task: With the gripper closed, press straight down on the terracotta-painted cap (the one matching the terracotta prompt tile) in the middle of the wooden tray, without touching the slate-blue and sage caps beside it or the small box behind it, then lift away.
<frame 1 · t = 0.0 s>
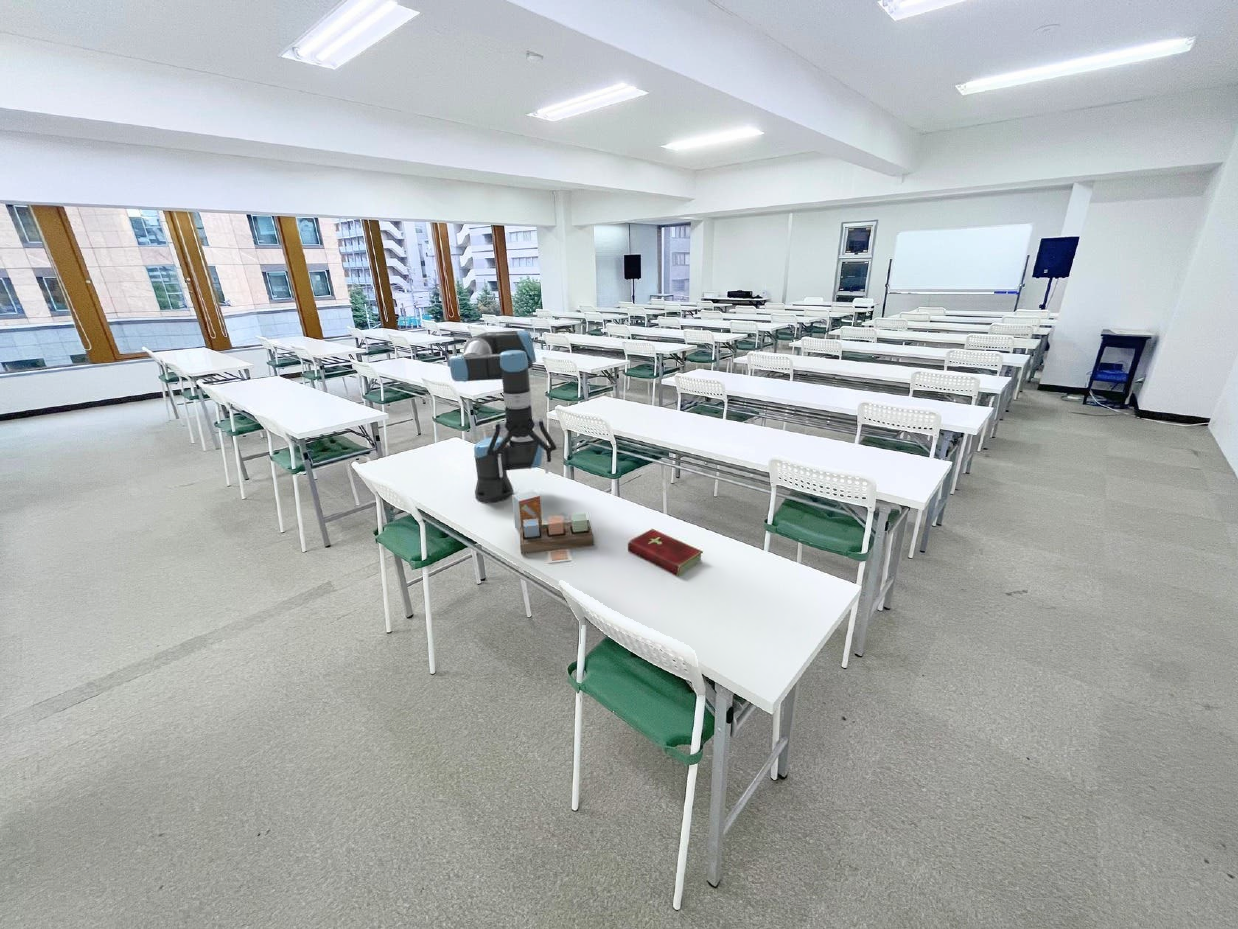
hand: (524, 473, 150), 28 cm above the table, fingers open, 13 cm apart
wooden tray: (556, 540, 168), on the table
small box: (528, 528, 177), on the table
cap slate: (531, 528, 165), point 6 cm above the table, slide at 0.0 cm
hardcover book: (664, 557, 159), on the table
prompt tile: (559, 556, 159), on the table
cap terracotta: (555, 526, 166), point 6 cm above the table, slide at 0.0 cm
cap sage: (579, 523, 167), point 6 cm above the table, slide at 0.0 cm
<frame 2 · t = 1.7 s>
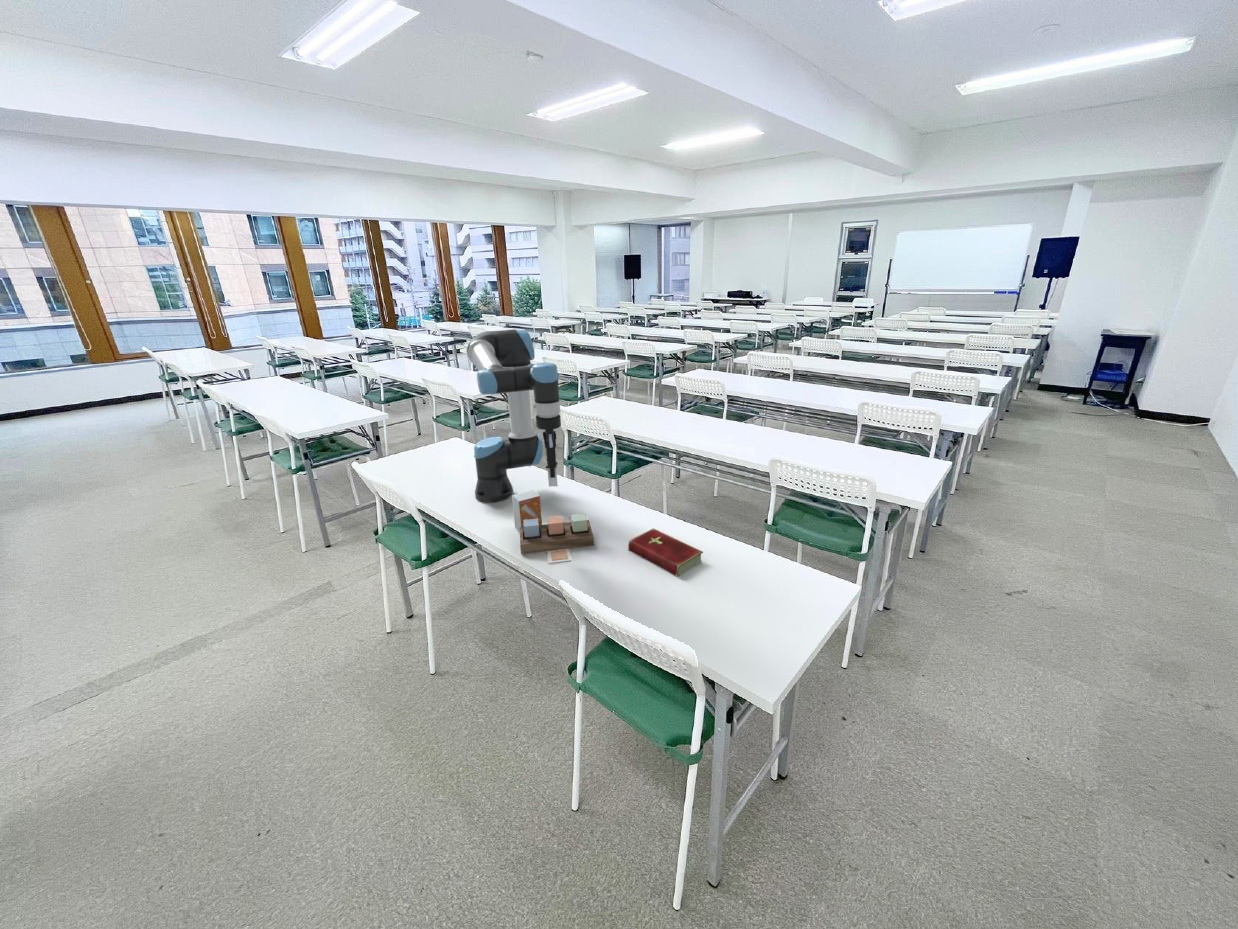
hand: (553, 485, 160), 21 cm above the table, fingers closed
nothing on the table moved.
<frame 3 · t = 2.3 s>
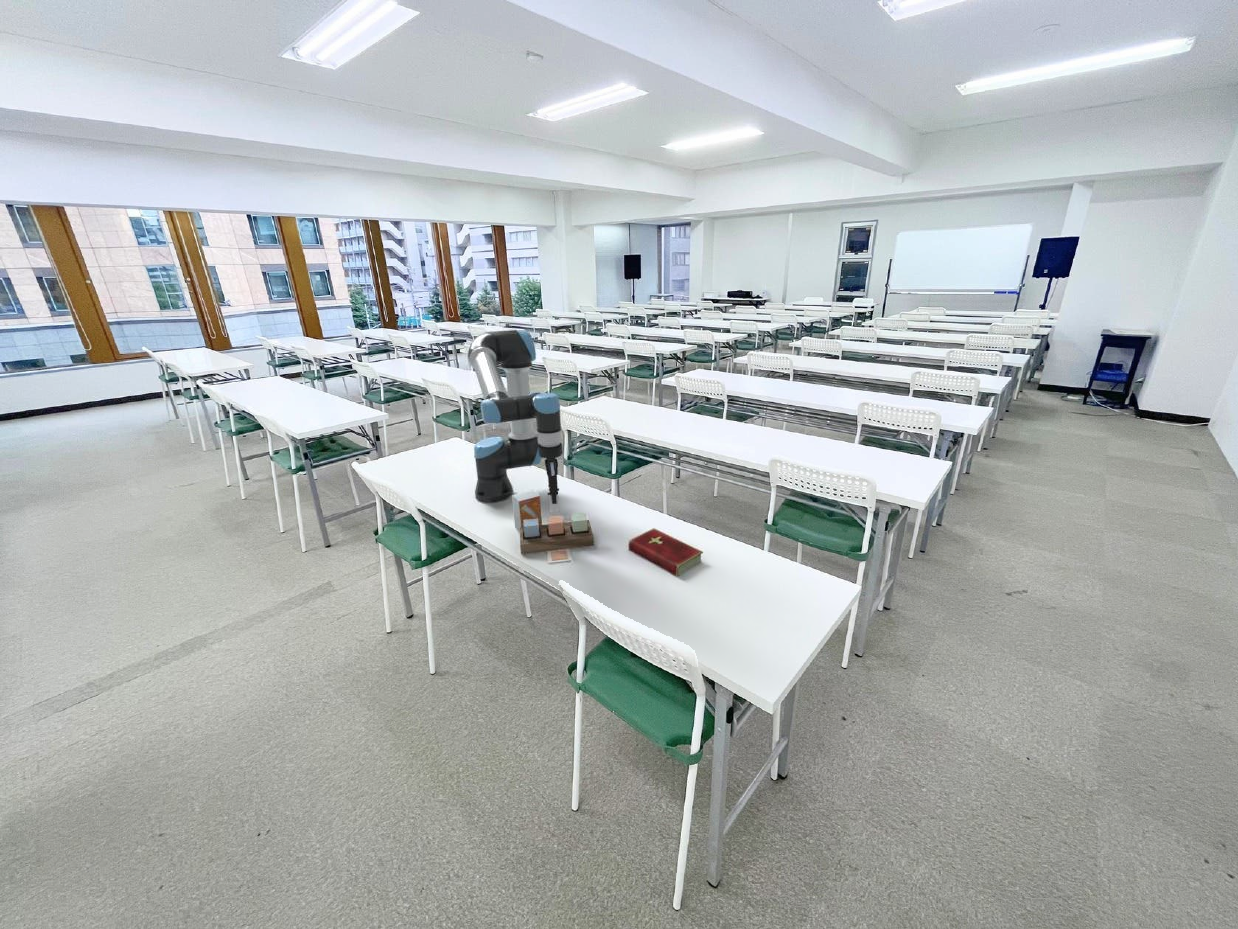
hand: (554, 510, 164), 11 cm above the table, fingers closed
nothing on the table moved.
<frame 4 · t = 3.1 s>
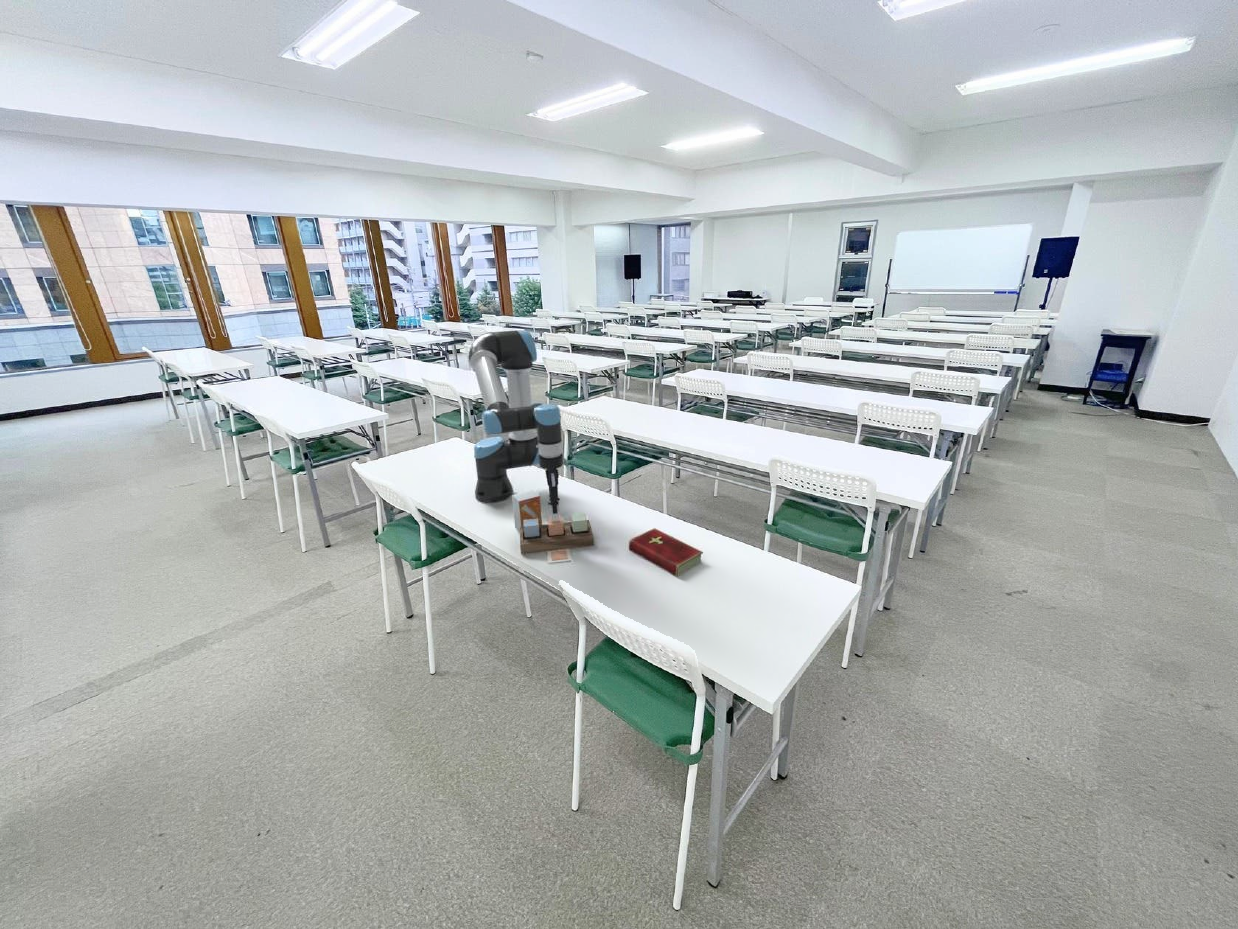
hand: (555, 520, 165), 8 cm above the table, fingers closed
cap terracotta: (555, 527, 166), point 5 cm above the table, slide at 0.4 cm, touching gripper
everything else where it was.
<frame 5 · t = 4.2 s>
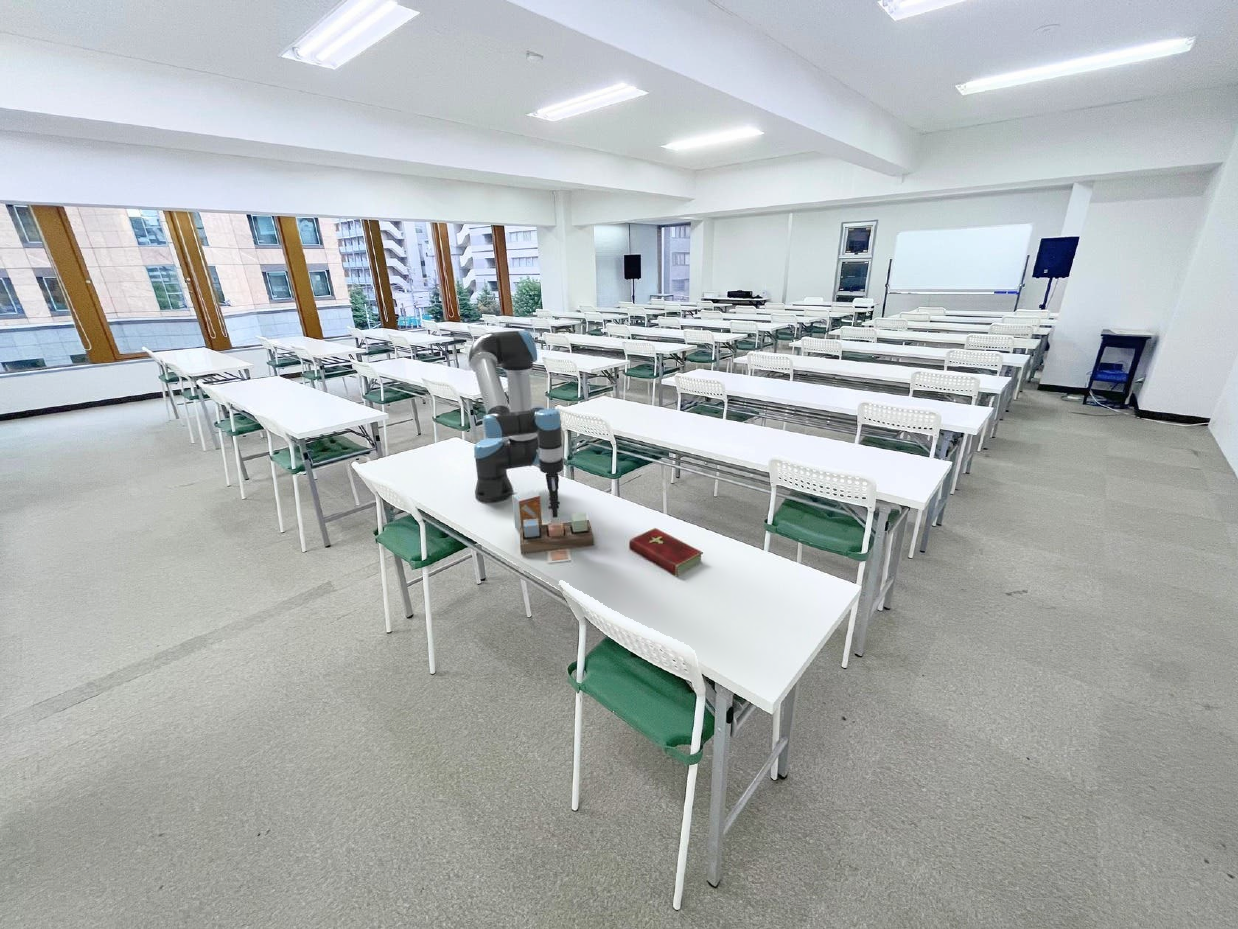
hand: (555, 523, 166), 6 cm above the table, fingers closed
cap terracotta: (556, 532, 167), point 3 cm above the table, slide at 2.3 cm
everything else where it was.
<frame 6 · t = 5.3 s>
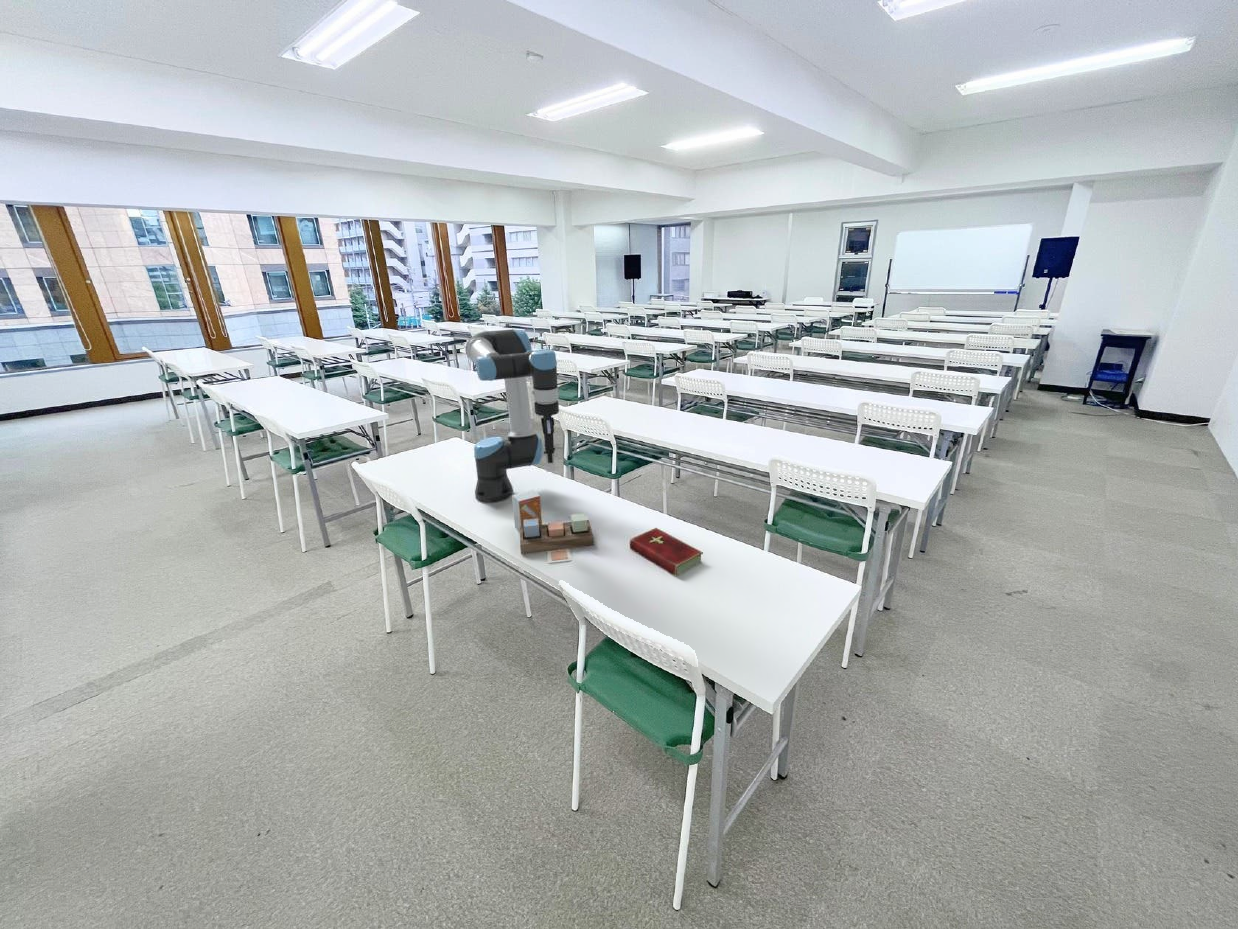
hand: (550, 470, 163), 24 cm above the table, fingers closed
nothing on the table moved.
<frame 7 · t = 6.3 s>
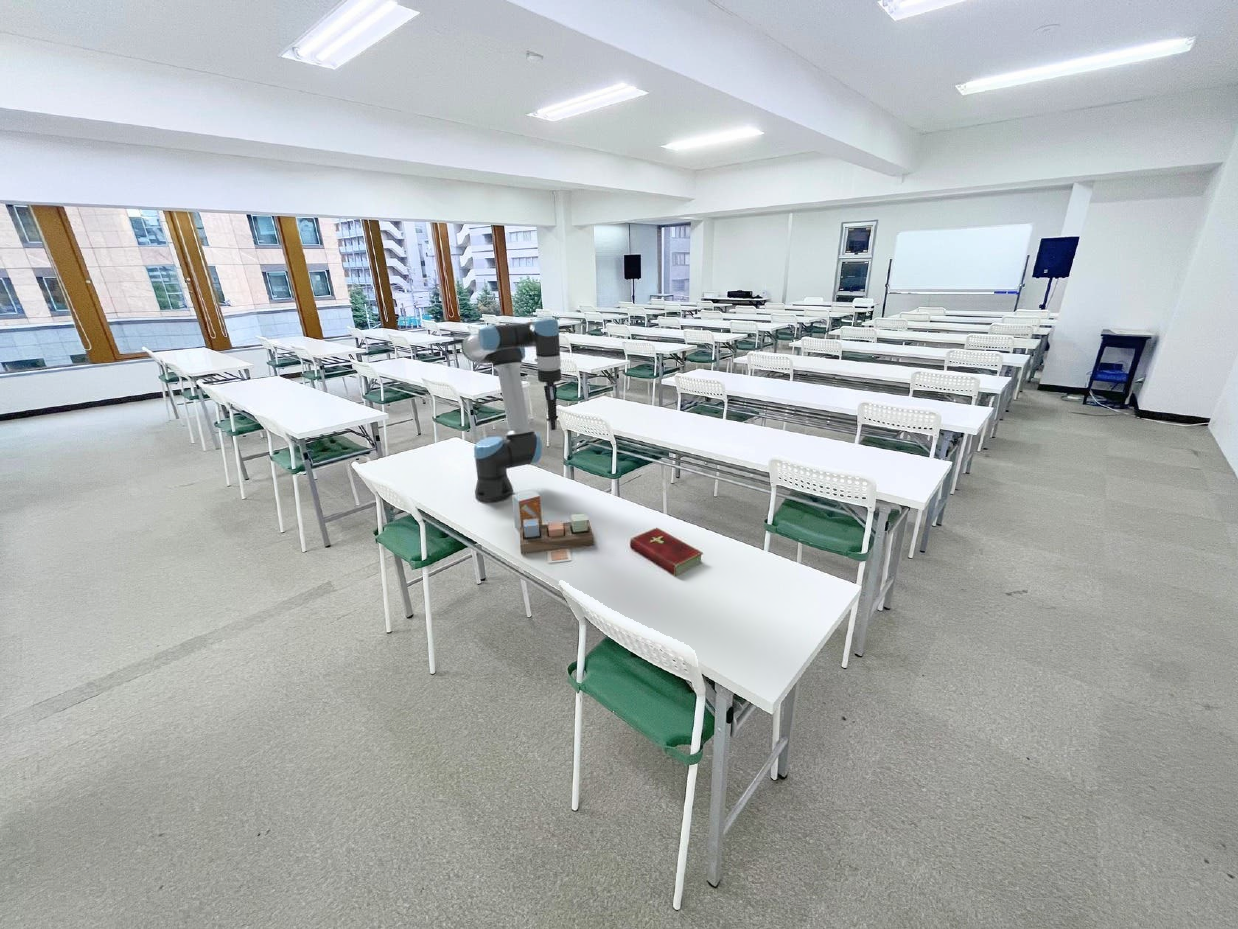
hand: (553, 437, 168), 32 cm above the table, fingers closed
nothing on the table moved.
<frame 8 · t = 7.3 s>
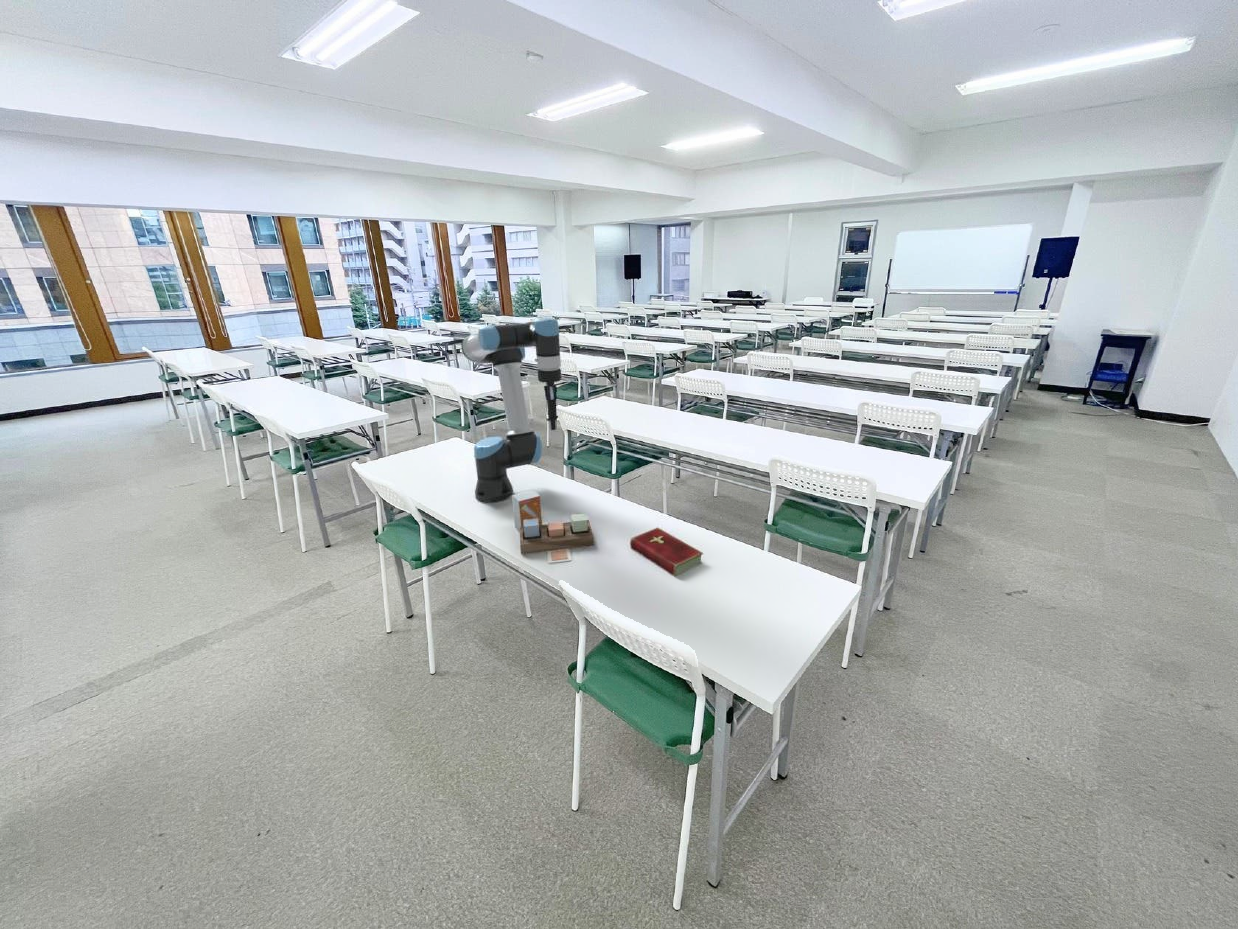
hand: (553, 437, 168), 32 cm above the table, fingers closed
at the end: cap terracotta slide at 2.3 cm; cap slate slide at 0.0 cm; cap sage slide at 0.0 cm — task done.
